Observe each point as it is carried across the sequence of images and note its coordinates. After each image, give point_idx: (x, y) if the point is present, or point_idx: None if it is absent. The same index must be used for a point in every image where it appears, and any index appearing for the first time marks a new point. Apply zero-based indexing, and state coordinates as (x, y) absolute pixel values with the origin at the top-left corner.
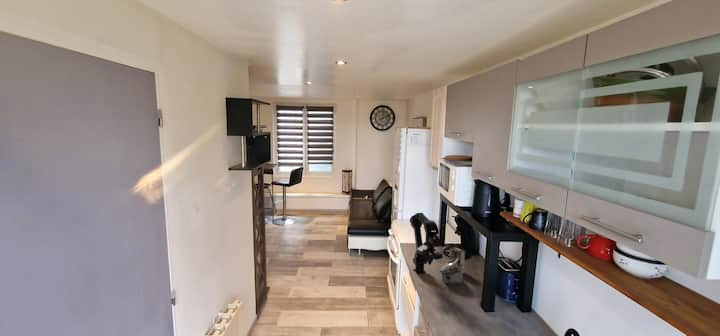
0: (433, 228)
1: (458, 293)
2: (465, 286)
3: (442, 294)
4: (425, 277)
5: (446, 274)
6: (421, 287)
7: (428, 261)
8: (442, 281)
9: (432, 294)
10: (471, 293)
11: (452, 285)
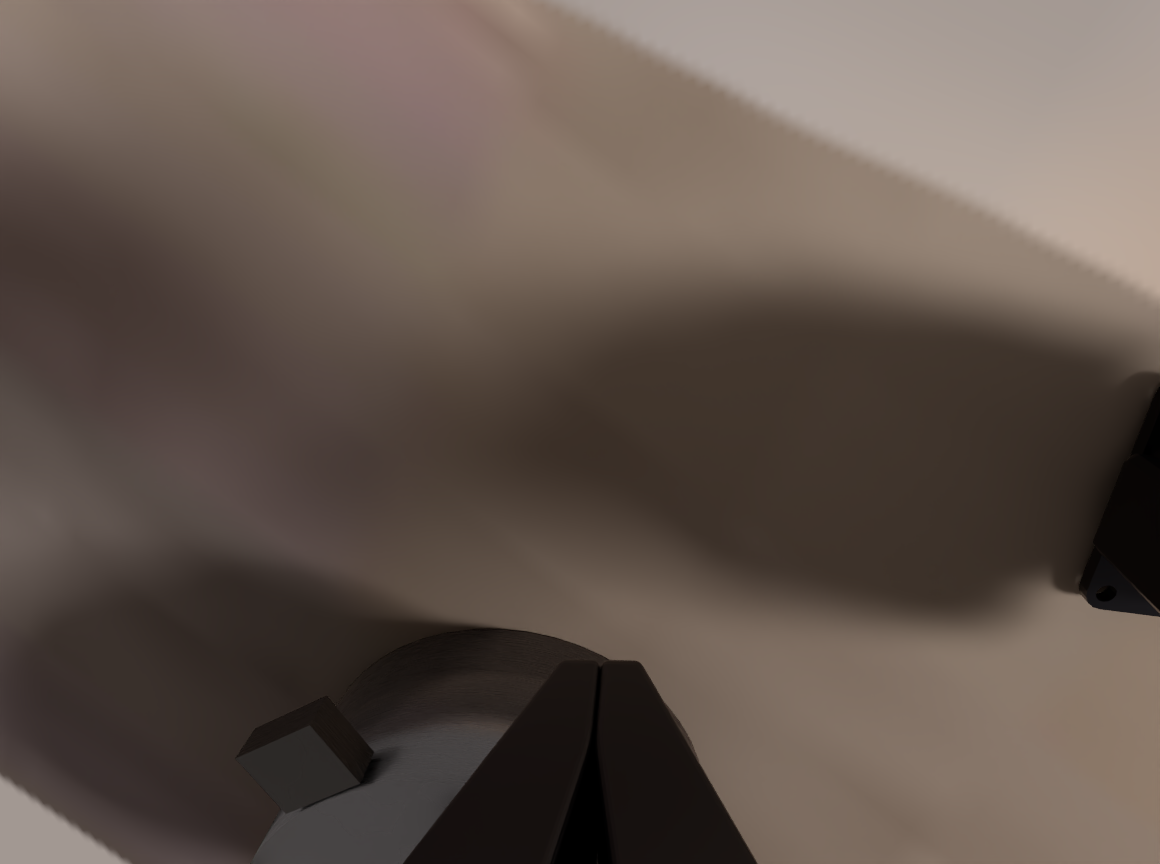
0: None
1: (116, 618)
2: None
3: (135, 330)
4: (903, 450)
5: None
6: (545, 35)
7: (600, 810)
8: (555, 646)
9: (176, 109)
10: (82, 779)
11: (344, 698)
